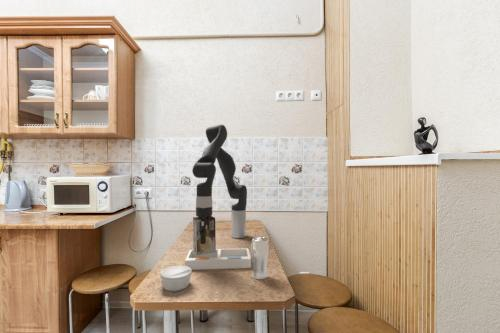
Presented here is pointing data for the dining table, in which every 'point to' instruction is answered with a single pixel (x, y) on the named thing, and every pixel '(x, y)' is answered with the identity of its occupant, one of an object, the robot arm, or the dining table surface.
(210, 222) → the coffee box
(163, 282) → the ramekin
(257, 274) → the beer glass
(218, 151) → the robot arm
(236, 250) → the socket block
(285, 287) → the dining table surface
